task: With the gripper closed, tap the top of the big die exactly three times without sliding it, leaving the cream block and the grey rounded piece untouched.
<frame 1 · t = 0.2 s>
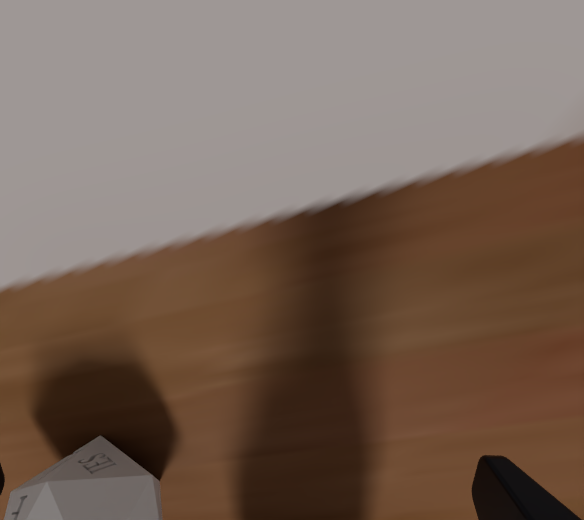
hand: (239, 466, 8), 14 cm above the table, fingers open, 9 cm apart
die: (116, 466, 27), on the table
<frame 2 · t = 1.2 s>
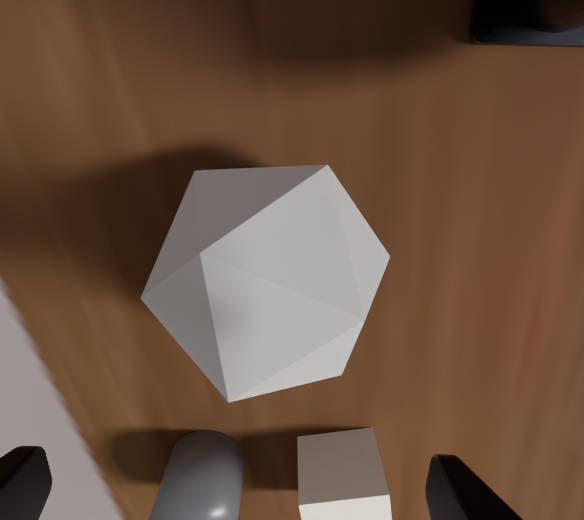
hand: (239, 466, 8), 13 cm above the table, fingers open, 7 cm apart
grey rounded piece: (208, 458, 25), on the table
cream block: (338, 459, 25), on the table
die: (274, 242, 20), on the table
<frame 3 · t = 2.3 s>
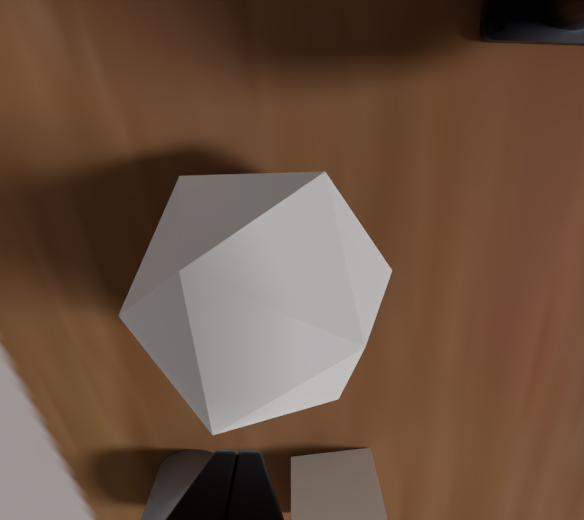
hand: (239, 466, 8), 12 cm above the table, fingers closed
grey rounded piece: (196, 478, 23), on the table
cream block: (334, 480, 24), on the table
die: (268, 252, 19), on the table
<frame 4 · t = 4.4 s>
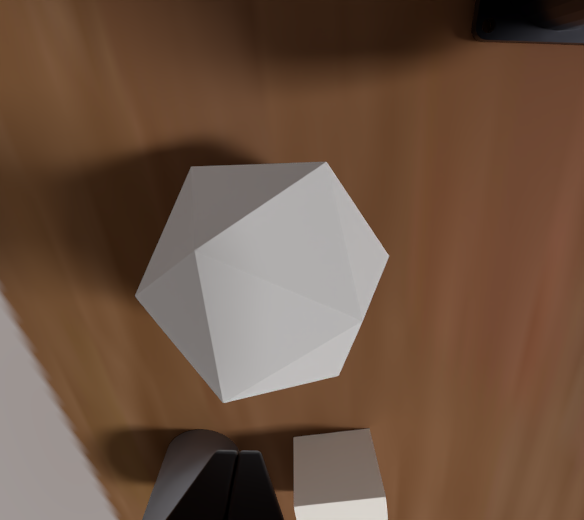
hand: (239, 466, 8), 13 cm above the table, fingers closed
grey rounded piece: (203, 457, 25), on the table
cream block: (335, 459, 25), on the table
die: (272, 240, 20), on the table
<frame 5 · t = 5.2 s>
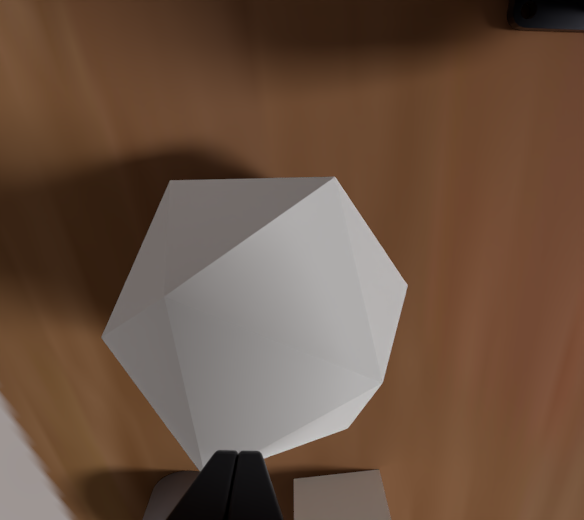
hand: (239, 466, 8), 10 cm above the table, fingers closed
grey rounded piece: (193, 501, 22), on the table
cream block: (340, 502, 22), on the table
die: (269, 262, 17), on the table
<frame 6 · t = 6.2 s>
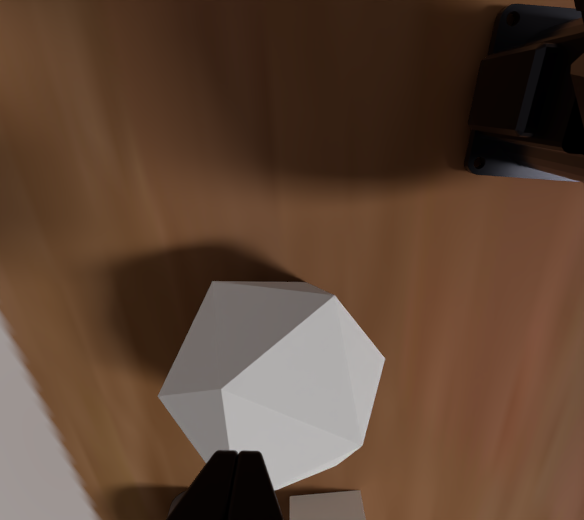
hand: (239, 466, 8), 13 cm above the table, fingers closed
cream block: (327, 516, 27), on the table
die: (278, 326, 22), on the table
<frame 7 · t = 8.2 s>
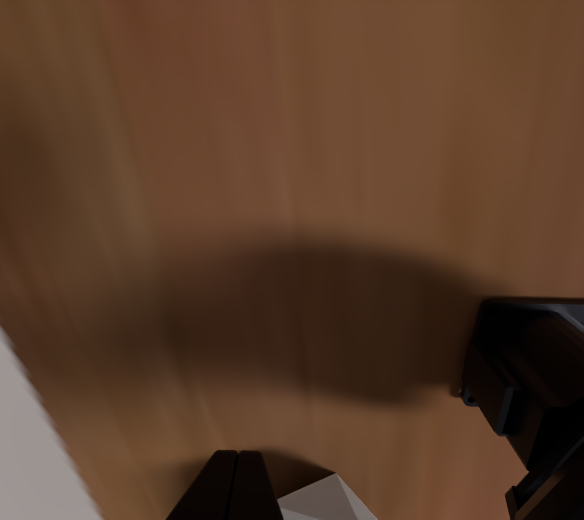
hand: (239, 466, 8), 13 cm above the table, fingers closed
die: (314, 501, 26), on the table
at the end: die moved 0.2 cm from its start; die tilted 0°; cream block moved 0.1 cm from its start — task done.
